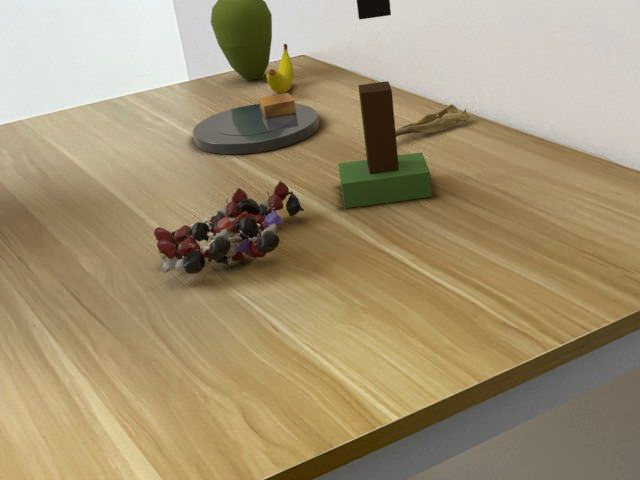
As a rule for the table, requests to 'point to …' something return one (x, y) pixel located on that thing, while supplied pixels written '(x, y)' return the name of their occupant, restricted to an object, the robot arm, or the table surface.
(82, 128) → the table surface
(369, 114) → the sponge brush
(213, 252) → the dark lumpy cluster
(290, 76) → the fruit
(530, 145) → the table surface
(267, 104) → the orange flat block
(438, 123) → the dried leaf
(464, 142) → the table surface
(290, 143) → the plate
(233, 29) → the green mango
